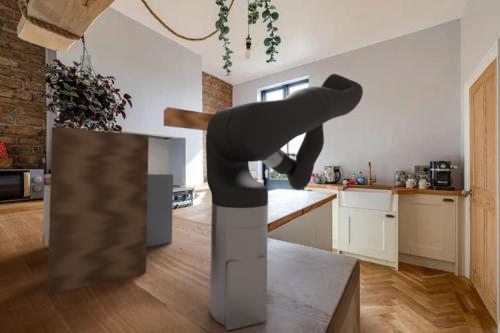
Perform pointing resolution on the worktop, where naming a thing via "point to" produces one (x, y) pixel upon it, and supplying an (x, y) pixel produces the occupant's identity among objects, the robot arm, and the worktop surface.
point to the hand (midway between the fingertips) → (228, 120)
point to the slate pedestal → (159, 209)
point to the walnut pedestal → (96, 207)
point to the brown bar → (186, 119)
